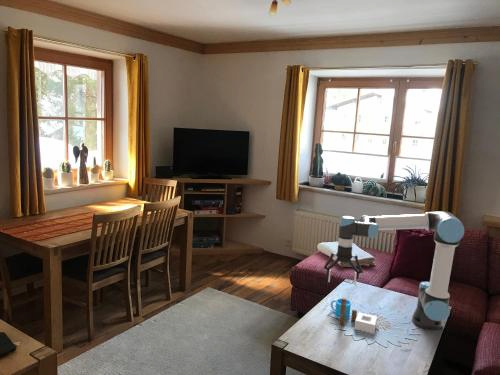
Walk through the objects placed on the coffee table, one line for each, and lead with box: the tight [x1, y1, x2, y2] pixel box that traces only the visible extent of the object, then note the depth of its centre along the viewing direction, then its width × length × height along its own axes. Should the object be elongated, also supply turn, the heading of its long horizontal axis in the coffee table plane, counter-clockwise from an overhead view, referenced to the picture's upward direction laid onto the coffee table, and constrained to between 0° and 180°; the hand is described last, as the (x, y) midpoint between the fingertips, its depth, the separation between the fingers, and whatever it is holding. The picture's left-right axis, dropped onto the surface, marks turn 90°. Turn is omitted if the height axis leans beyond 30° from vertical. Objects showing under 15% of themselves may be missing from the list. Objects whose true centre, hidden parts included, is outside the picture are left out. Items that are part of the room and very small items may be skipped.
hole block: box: [354, 311, 378, 334], centre depth 214 cm, size 10×10×5 cm
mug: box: [330, 298, 352, 320], centre depth 227 cm, size 12×8×8 cm
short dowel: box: [350, 309, 358, 323], centre depth 221 cm, size 3×3×6 cm
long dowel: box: [338, 297, 347, 327], centre depth 215 cm, size 3×3×15 cm
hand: (341, 282), depth 216 cm, fingers open, 13 cm apart
